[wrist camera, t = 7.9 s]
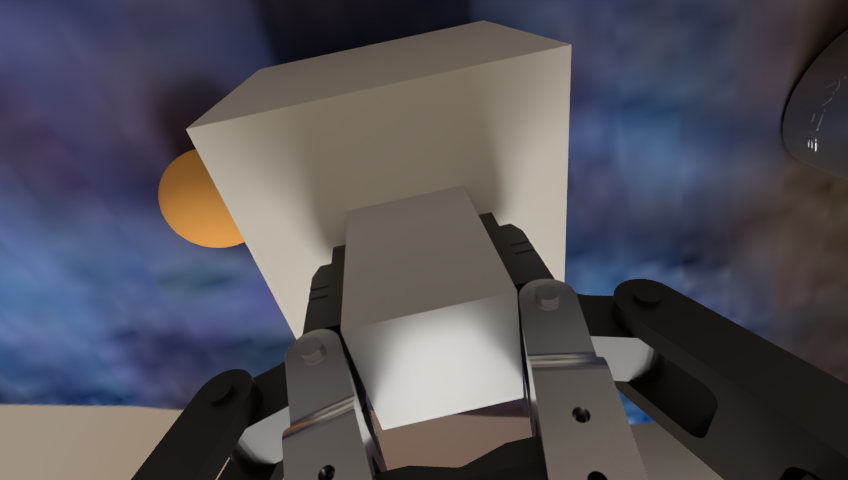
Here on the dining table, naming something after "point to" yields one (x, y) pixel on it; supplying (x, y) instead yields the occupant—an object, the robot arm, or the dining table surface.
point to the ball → (196, 204)
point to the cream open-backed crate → (404, 199)
